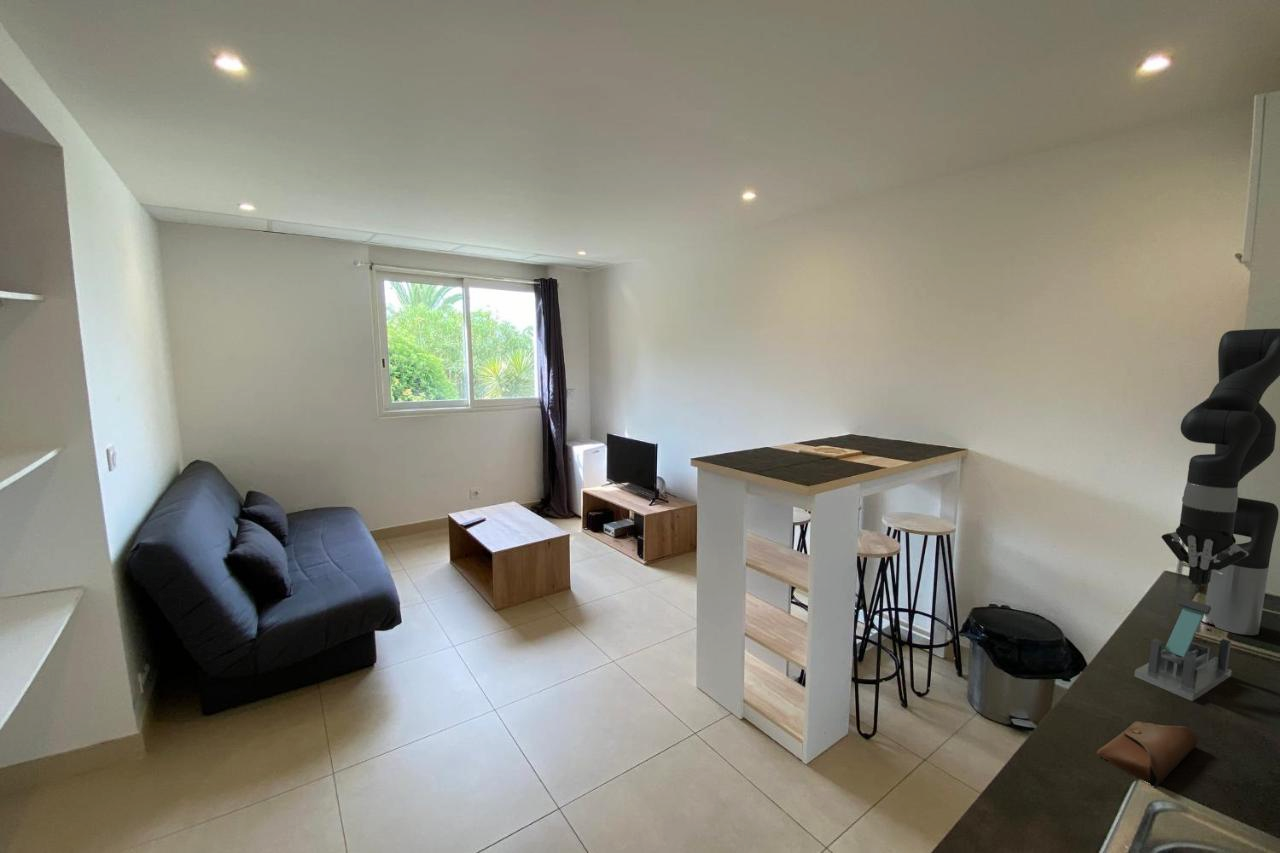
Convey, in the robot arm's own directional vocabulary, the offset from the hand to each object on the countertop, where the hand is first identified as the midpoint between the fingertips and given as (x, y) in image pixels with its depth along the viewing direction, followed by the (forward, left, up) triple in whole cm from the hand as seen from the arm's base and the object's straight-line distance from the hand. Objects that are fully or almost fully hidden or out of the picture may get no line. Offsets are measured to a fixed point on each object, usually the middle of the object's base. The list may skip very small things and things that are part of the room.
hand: (1198, 584), depth 108 cm
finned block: (+2, 0, -21) cm, 21 cm away
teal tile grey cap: (+3, 0, -10) cm, 11 cm away
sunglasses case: (+36, +7, -21) cm, 42 cm away
